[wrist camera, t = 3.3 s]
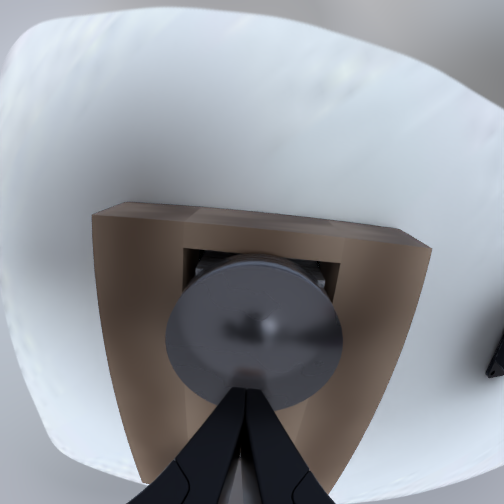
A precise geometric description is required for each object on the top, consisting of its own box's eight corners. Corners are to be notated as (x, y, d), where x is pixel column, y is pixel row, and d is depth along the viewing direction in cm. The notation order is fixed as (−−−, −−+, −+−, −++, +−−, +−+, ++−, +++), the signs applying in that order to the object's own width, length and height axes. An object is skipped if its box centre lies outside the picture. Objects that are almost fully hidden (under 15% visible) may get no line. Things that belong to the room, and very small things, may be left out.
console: (399, 229, 14) (432, 248, 11) (320, 466, 20) (325, 498, 17) (125, 201, 15) (91, 214, 11) (152, 450, 20) (142, 482, 17)
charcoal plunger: (329, 237, 14) (361, 277, 10) (307, 348, 16) (321, 415, 11) (195, 223, 15) (162, 258, 10) (193, 337, 16) (170, 402, 11)
